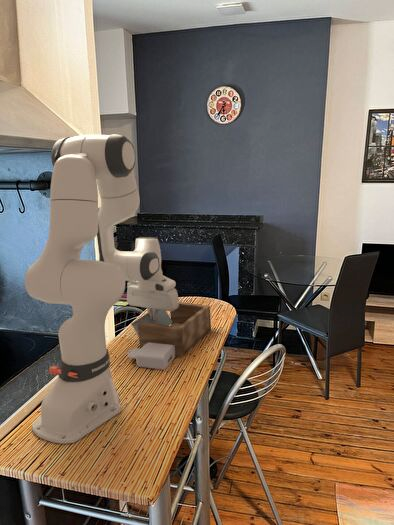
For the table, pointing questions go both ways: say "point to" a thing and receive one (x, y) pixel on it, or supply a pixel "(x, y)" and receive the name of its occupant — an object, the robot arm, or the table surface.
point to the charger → (153, 355)
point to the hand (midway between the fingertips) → (153, 319)
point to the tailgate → (161, 319)
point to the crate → (179, 328)
